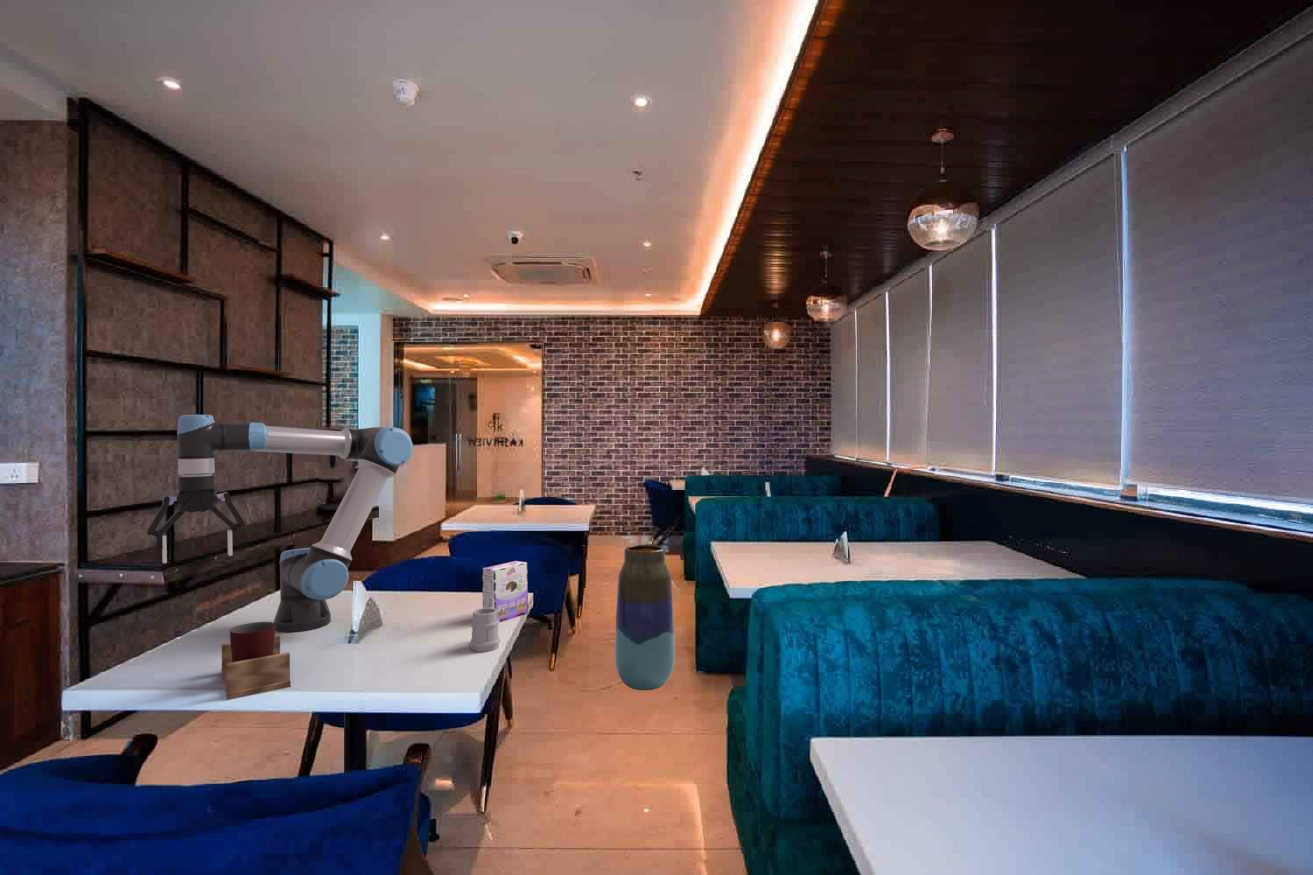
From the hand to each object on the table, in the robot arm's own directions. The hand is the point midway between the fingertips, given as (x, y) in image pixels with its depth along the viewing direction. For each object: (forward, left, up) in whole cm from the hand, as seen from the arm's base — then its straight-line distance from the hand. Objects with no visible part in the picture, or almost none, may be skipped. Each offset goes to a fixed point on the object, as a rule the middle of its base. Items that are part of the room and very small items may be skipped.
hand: (198, 558), depth 163 cm
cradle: (-10, +24, -26) cm, 37 cm away
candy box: (-78, +12, -26) cm, 83 cm away
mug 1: (-10, +24, -25) cm, 36 cm away
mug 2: (-63, +34, -26) cm, 76 cm away
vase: (-81, +82, -26) cm, 118 cm away
